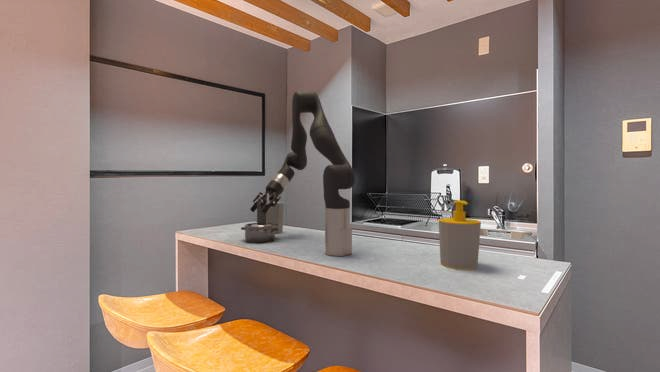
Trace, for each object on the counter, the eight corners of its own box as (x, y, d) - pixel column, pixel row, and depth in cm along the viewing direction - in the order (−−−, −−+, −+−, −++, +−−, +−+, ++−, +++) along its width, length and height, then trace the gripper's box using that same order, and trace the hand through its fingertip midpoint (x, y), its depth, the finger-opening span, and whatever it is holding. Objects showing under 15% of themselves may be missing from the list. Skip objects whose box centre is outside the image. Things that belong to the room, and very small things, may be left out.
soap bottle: (453, 271, 105) (454, 202, 104) (430, 261, 118) (430, 199, 117) (489, 268, 109) (490, 201, 108) (462, 258, 121) (463, 198, 120)
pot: (283, 238, 158) (283, 223, 158) (272, 244, 146) (272, 227, 146) (248, 237, 162) (248, 222, 162) (235, 242, 150) (235, 226, 149)
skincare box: (262, 233, 172) (262, 202, 172) (269, 231, 179) (269, 201, 179) (278, 234, 170) (278, 202, 169) (284, 232, 177) (284, 201, 176)
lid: (276, 226, 155) (275, 202, 154) (259, 229, 148) (258, 203, 148) (263, 224, 161) (263, 201, 161) (247, 227, 154) (246, 202, 154)
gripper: (263, 179, 163) (243, 205, 155) (282, 179, 154) (261, 207, 146) (272, 190, 167) (253, 215, 159) (291, 191, 158) (272, 218, 150)
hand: (257, 211), depth 153 cm, fingers open, 8 cm apart
